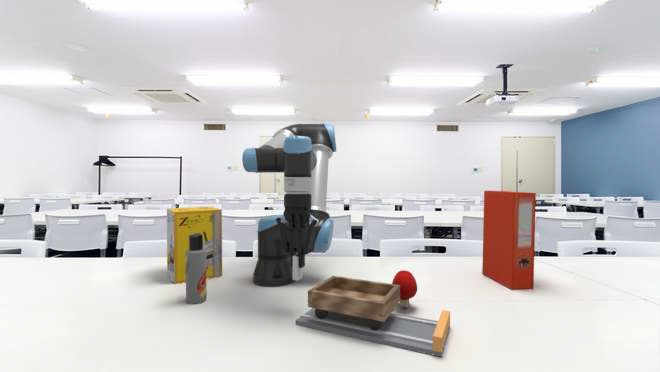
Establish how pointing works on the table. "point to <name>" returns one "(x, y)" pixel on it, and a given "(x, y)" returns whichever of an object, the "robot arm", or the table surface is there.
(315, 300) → the tray
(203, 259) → the lotion bottle
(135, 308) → the table surface
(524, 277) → the file binder
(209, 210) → the packaging box
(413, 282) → the light bulb
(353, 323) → the track
